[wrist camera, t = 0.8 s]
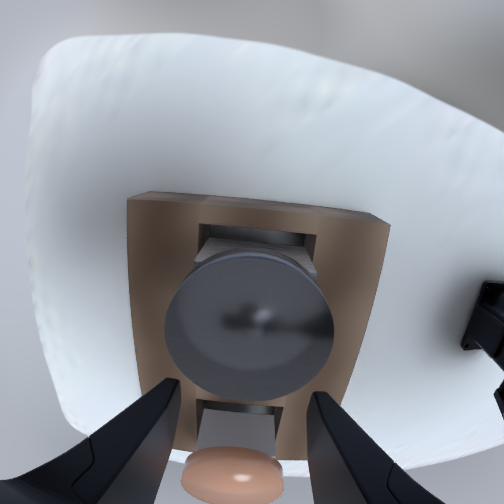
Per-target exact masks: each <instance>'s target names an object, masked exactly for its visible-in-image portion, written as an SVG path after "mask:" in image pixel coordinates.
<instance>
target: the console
mask: <svg viewBox="0 0 504 504" xmlns="http://www.w3.org/2000/svg"><path fill="white" fill-rule="evenodd" d="M209 224H213V225H224V226H235V227H245V228H256V229H266V230H276V231H285V232H295V233H304V234H305V239H304V246H303V247H305V249H306V251H307V253H308V255H309V257H310V259H311V261H312V263H313V265H314V268H315V270H316V272H317V277H316V281H317V282H318V284H319V286H320V288H321V290H322V292H323V294H324V297H325V299H326V301H327V304H328V306H329V308H330V311H331V314H332V317H333V323H334V341H333V346H332V350H331V353H330V355H329V357H328V359H327V361H326V363H325V365H324V366H323V368H322V369H321V370H320V372H319V373H318V374H317V375H316V376H315V377H314V378H313V379H312V380H311V381H310V382H308V383H307V384H306V385H304V386H303V387H301V388H300V389H298V390H296V391H294V392H292V393H290V394H288V395H285V396H283V397H280V398H276V399H272V400H266V401H256V402H246V401H236V400H230V399H226V398H222V397H220V396H217V395H214V394H212V393H210V392H207V391H205V390H204V389H202V388H200V387H199V386H197V385H196V384H194V383H193V382H192V381H190V380H189V379H188V378H187V377H186V376H185V375H184V374H183V373H182V372H181V371H180V369H179V368H178V367H177V366H176V364H175V362H174V361H173V359H172V357H171V355H170V353H169V351H168V348H167V344H166V340H165V333H164V326H165V318H166V313H167V310H168V307H169V304H170V302H171V301H172V299H173V297H174V295H175V293H176V292H177V290H178V288H179V287H180V285H181V283H182V282H183V280H184V279H185V277H186V276H187V275H188V274H189V272H190V271H191V270H192V269H193V264H194V260H195V258H196V257H197V255H198V254H199V252H200V250H201V249H202V247H203V246H204V244H205V242H206V241H207V239H208V232H209ZM390 226H391V225H390V224H388V223H386V222H384V221H383V220H381V219H379V218H377V217H376V216H374V215H372V214H370V213H365V212H358V211H351V210H343V209H336V208H328V207H320V206H312V205H304V204H295V203H286V202H277V201H267V200H257V199H247V198H236V197H224V196H212V195H199V194H184V193H169V192H151V191H149V192H146V193H143V194H140V195H137V196H134V197H131V198H129V199H127V254H128V277H129V293H130V306H131V317H132V327H133V337H134V345H135V353H136V361H137V368H138V374H139V381H140V387H141V393H142V396H143V395H144V394H145V393H147V392H148V391H149V390H151V389H152V388H153V387H154V386H156V385H157V384H158V383H159V382H161V381H162V380H163V379H165V378H167V377H169V378H175V379H179V380H180V384H181V407H180V412H179V417H178V422H177V427H176V433H175V438H174V443H173V447H172V449H176V450H182V451H188V452H196V445H197V440H198V435H199V430H200V425H201V421H202V416H203V411H204V400H210V401H219V402H227V403H237V404H248V405H262V406H275V409H274V414H273V415H274V426H275V455H276V456H275V459H276V460H308V458H307V424H306V413H307V408H308V405H309V401H310V398H311V395H312V393H313V392H314V391H325V392H327V393H329V395H330V396H331V397H332V398H333V399H334V400H335V401H336V402H337V403H338V404H339V405H341V402H342V399H343V397H344V394H345V391H346V389H347V386H348V383H349V380H350V377H351V375H352V372H353V369H354V366H355V363H356V360H357V357H358V354H359V350H360V347H361V344H362V341H363V338H364V334H365V331H366V327H367V324H368V321H369V317H370V313H371V310H372V306H373V302H374V298H375V295H376V291H377V287H378V282H379V278H380V274H381V270H382V265H383V261H384V256H385V251H386V247H387V242H388V237H389V231H390Z"/></svg>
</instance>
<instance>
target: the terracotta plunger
mask: <svg viewBox="0 0 504 504" xmlns="http://www.w3.org/2000/svg"><path fill="white" fill-rule="evenodd" d="M275 456H276V455H275V426H274V415H266V414H252V413H240V412H230V411H221V410H212V409H205V408H204V411H203V416H202V421H201V425H200V430H199V435H198V440H197V445H196V452H193V453H192V454H190V455H189V456H188V457H187V459H186V461H185V465H184V469H183V474H182V478H181V484H182V487H183V488H184V490H185V491H186V492H187V493H189V494H190V495H192V496H193V497H195V498H197V499H199V500H201V501H203V502H206V503H209V504H268V503H270V502H273V501H274V500H276V499H278V498H279V497H280V496H281V495H282V493H283V491H284V486H283V468H282V466H281V464H280V463H279V462H278V461H277V460H276V459H275Z"/></svg>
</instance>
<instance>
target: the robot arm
mask: <svg viewBox="0 0 504 504" xmlns="http://www.w3.org/2000/svg"><path fill="white" fill-rule="evenodd" d="M487 286H488V287H487ZM461 348H462V349H463V350H475V349H483V350H484V351H485V352H486V354H487V355H488V356H489V357H490V358H492V359H493V360H494V361H495V362H496V363H497V365H498V366H499V367H500V368H501V369H502V370H503V371H504V282H499V281H485V282H484V283H483V285H482V288H481V291H480V294H479V297H478V300H477V303H476V306H475V309H474V312H473V315H472V317H471V320H470V323H469V325H468V328H467V330H466V333H465V335H464V338H463V340H462V343H461ZM494 397H495V399H496V402H497V404H498V407H499V409H500V412H501V414H502V417H503V419H504V380H503V382H502V383H501V385H500V386H499V388H497V389H496V391H495V392H494ZM180 407H181V384H180V380H179V379H175V378H169V377H167V378H165V379H163V380H162V381H161V382H159V383H158V384H157V385H156V386H154V387H153V388H152V389H151V390H149V391H148V392H147V393H145V394H144V395H143V396H142V397H140V398H139V399H138V400H136V401H135V402H134V403H133V404H131V405H130V406H129V407H127V408H126V409H125V410H123V411H122V412H121V413H119V414H118V415H117V416H115V417H114V418H113V419H111V420H110V421H109V422H107V423H106V424H105V425H103V426H102V427H101V428H99V429H98V430H97V431H95V432H94V433H93V434H91V435H90V436H89V438H88V437H87V438H86V439H84V440H83V441H82V442H80V443H79V444H77V445H76V446H74V447H73V448H71V449H70V450H68V451H67V452H65V453H63V454H62V455H60V456H58V457H56V458H55V459H53V460H51V461H49V462H47V463H45V464H43V465H41V466H39V467H37V468H35V469H33V470H31V471H29V472H27V473H25V474H23V475H21V476H18V477H16V478H13V479H8V480H0V504H154V501H155V498H156V495H157V492H158V489H159V486H160V483H161V480H162V477H163V474H164V471H165V468H166V465H167V462H168V459H169V456H170V453H171V450H172V447H173V443H174V438H175V433H176V427H177V422H178V417H179V412H180ZM306 424H307V458H308V466H309V472H310V479H311V485H312V492H313V498H314V504H445V503H444V502H442V501H441V500H440V499H438V498H437V497H435V496H434V495H433V494H431V493H430V492H429V491H427V490H426V489H424V488H423V487H422V486H421V485H420V484H418V483H417V482H416V481H414V480H413V479H412V478H411V477H410V476H409V475H408V474H407V473H406V472H404V470H403V469H402V468H401V467H400V466H399V465H398V464H397V463H394V461H393V460H392V459H391V458H390V457H389V456H388V455H387V454H386V453H385V452H384V451H383V450H382V449H381V448H380V447H379V446H378V445H377V444H376V443H375V442H374V440H373V439H372V438H371V437H370V436H369V435H368V434H367V433H366V432H365V431H364V430H363V429H362V428H361V427H360V426H359V425H358V424H357V423H356V422H355V421H354V420H353V419H352V418H351V417H350V416H349V415H348V414H347V413H346V411H345V410H344V409H343V408H342V407H341V406H340V405H339V404H338V403H337V402H336V401H335V400H334V399H333V398H332V397H331V396H330V395H329V393H327V392H325V391H314V392H313V393H312V395H311V398H310V401H309V405H308V408H307V413H306Z"/></svg>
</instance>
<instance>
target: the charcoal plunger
mask: <svg viewBox="0 0 504 504" xmlns="http://www.w3.org/2000/svg"><path fill="white" fill-rule="evenodd" d="M316 277H317V272H316V270H315V268H314V265H313V263H312V261H311V259H310V257H309V255H308V253H307V251H306V249H305V247H303V246H294V245H284V244H273V243H263V242H253V241H243V240H232V239H222V238H211V237H209V238H208V239H207V241H206V242H205V244H204V246H203V247H202V249H201V250H200V252H199V254H198V255H197V257H196V258H195V260H194V264H193V269H192V270H191V271H190V272H189V274H188V275H187V276H186V277H185V279H184V280H183V282H182V283H181V285H180V287H179V288H178V290H177V292H176V293H175V295H174V297H173V299H172V301H171V302H170V304H169V307H168V310H167V313H166V318H165V326H164V333H165V340H166V344H167V348H168V351H169V353H170V355H171V357H172V359H173V361H174V362H175V364H176V366H177V367H178V368H179V369H180V371H181V372H182V373H183V374H184V375H185V376H186V377H187V378H188V379H189V380H190V381H192V382H193V383H194V384H196V385H197V386H199V387H200V388H202V389H204V390H205V391H207V392H210V393H212V394H214V395H217V396H220V397H222V398H226V399H230V400H236V401H246V402H256V401H266V400H272V399H276V398H280V397H283V396H285V395H288V394H290V393H292V392H294V391H296V390H298V389H300V388H301V387H303V386H304V385H306V384H307V383H308V382H310V381H311V380H312V379H313V378H314V377H315V376H316V375H317V374H318V373H319V372H320V370H321V369H322V368H323V366H324V365H325V363H326V361H327V359H328V357H329V355H330V353H331V350H332V346H333V341H334V323H333V317H332V314H331V311H330V308H329V306H328V304H327V301H326V299H325V297H324V294H323V292H322V290H321V288H320V286H319V284H318V282H317V281H316Z"/></svg>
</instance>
